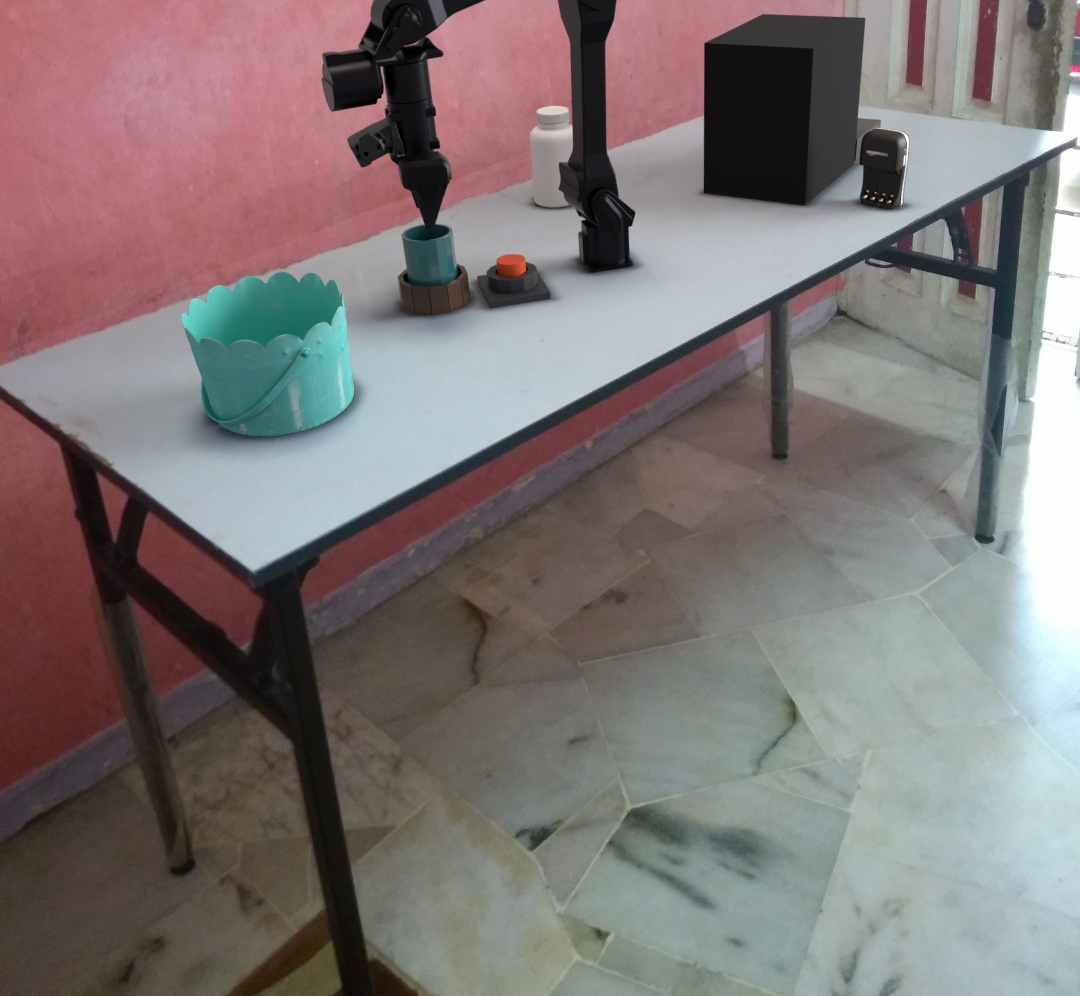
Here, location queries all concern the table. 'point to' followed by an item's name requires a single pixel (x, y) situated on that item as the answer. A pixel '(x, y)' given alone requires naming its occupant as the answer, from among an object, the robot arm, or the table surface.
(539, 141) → the pill bottle
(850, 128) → the matte black box
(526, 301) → the button housing
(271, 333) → the basket
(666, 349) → the table surface
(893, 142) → the battery charger
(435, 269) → the cup
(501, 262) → the release button
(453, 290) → the stave barrel planter
